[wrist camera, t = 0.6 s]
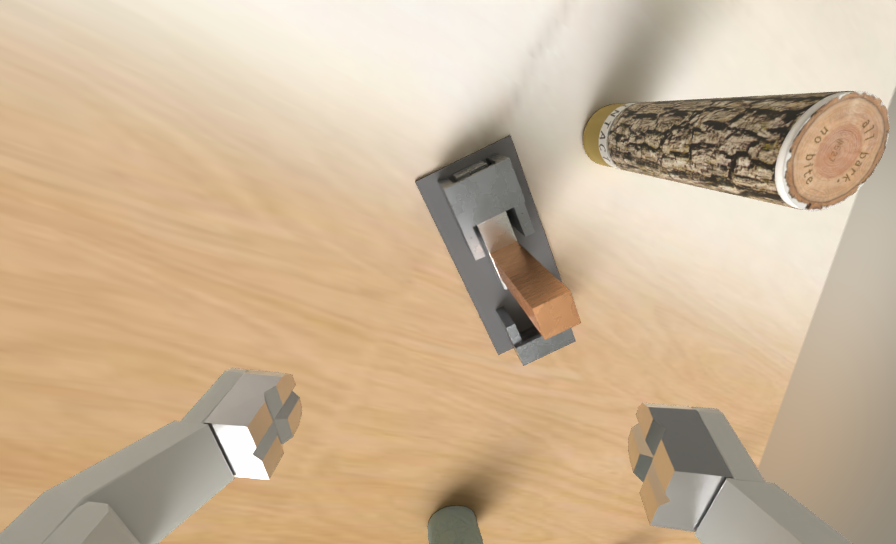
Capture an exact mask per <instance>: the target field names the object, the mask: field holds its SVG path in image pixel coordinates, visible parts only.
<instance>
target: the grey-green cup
mask: <svg viewBox="0 0 896 544" xmlns="http://www.w3.org/2000/svg"><path fill="white" fill-rule="evenodd" d="M428 540H429V544H483V539H482V536H481V533H480V530H479V527H478V524H477V520H476V517H475V515H474V513H473V511H472V510H471V509H469V508H467V507H465V506H449V507H445V508H442V509H440V510H439V511H437V512H436V513H435V514H433V516H432V517H431V518H430V520H429V523H428Z"/></svg>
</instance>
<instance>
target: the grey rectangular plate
mask: <svg viewBox="0 0 896 544" xmlns="http://www.w3.org/2000/svg"><path fill="white" fill-rule="evenodd" d="M494 153H497V154H500V155H503V156H506V157H509V158H510V160H511V163H512V166H513V169H514V171H515V174H516V177H517V180H518V182H519V185H520V188H521V191H522V193H523V196H524V199H525V202H524V203H525V206H526V209H527V211H528V214H529V217H530V220H531V222H532V225H533V228H534V231H535V233H533V234H531V235H529V236H526V237H525V236H524V235H523V234H521V233H520V232H519V231H518V230H517V229H515V228H514V227H513V226H512V224H511V221H510V219H509V216H508V214H507V216H508V219H509V221H510V224H511V226H512V229H513V231H514V234H515V237H516V239H517V242H518V243H519V244H521V245H522V246H523V247H524V248H525V249H526V250H527V251H528V252H529V253H530V254H531V255H532V256H533V257H534V258H535V259H537V260H538V261H539V262H540V263H541V264H542V265H543V266H544V267H545V268H546V269H547V270H548V271H549V272H550V273H552V274H553V275H554V276H555V277H556V278H557V279H558V280H559V281H560V282H561V283H562V281H561V278H560V275H559V273H558V270H557V267H556V264H555V261H554V258H553V255H552V253H551V250H550V247H549V244H548V241H547V238H546V235H545V233H544V230H543V227H542V224H541V221H540V218H539V216H538V213H537V210H536V207H535V204H534V201H533V198H532V196H531V193H530V190H529V187H528V184H527V181H526V178H525V176H524V173H523V170H522V167H521V164H520V161H519V159H518V156H517V153H516V150H515V147H514V144H513V141H512V139H511V136H507V137H505V138H503V139H501V140H499V141H497V142H495V143H493V144H491V145H489V146H487V147H485V148H483V149H481V150H479V151H477V152H475V153H473V154H471V155H469V156H467V157H464V158H462V159H460V160H458V161H456V162H454V163H452V164H450V165H448V166H446V167H444V168H442V169H440V170H438V171H436V172H434V173H432V174H430V175H428V176H426V177H424V178H421V179H419V180H417V181H415V182H416V184H417V186H418V189H419V191H420V193H421V195H422V197H423V199H424V201H425V203H426V205H427V207H428V209H429V211H430V214H431V216H432V218H433V220H434V222H435V224H436V226H437V228H438V230H439V232H440V234H441V236H442V239H443V241H444V243H445V245H446V247H447V249H448V251H449V253H450V255H451V257H452V259H453V261H454V263H455V266H456V268H457V270H458V272H459V274H460V276H461V278H462V280H463V282H464V284H465V286H466V288H467V291H468V293H469V295H470V297H471V299H472V301H473V303H474V305H475V307H476V309H477V311H478V313H479V316H480V318H481V320H482V322H483V324H484V326H485V328H486V330H487V332H488V334H489V336H490V338H491V341H492V343H493V345H494V347H495V349H496V351H497V353H498V355H500V354H502V353H504V352H506V351H508V350H510V349H512V348H513V346H512V345H511V343H510V340H509V338H508V336H507V334H506V332H505V329H504V327H503V325H502V323H501V321H500V318H499V316H498V314H497V312H496V310H497V309H499V308H501V307H503V306H504V307H505V309H506V311H507V312H508V314H509V315H510V317H511V318H512V320H513V322H514V323H515V325H516V328H517V330H518V332H521V331H523V330H525V329H528V328H530V327H532V326H534V324H533V323H532V321H531V320H530V319H529V317H528V316H527V314H526V313H525V312H524V310H523V309H522V307H521V306H520V305H519V303H518V302H517V301H516V299H515V298H514V296H513V295H512V294H511V292H510V291H509V289H504V288H503V286H502V285H501V284H500V282H499V281H498V278H497V276H496V274H495V271H494V269H493V267H492V264H491V262H490V260H489V258H488V255H487V253H486V251H485V248H484V246H483V244H482V241H481V239H480V237H479V234H478V232H477V230H476V228H475V226H474V227H473V229H474V231H475V234H476V236H477V238H478V240H479V243H480V245H481V247H482V250H483V252H484V254H485V257H483V258H481V259H479V260H475V259H474V257H473V256H472V254H471V253H470V251H469V249H468V248H467V246H466V244H465V241H464V239H463V237H462V235H461V233H460V230H459V228H458V226H457V224H456V222H455V219H454V217H453V215H452V213H451V211H450V208H449V206H448V204H447V202H446V200H445V197H444V195H443V193H442V191H441V189H440V186H439V184H438V182H437V181H439V180H441V179H443V178H445V177H447V178H448V179H449V180H451V181H452V182H453V183H456V181H455V179H454V177H453V174H454V173H456V172H459V171H461V170H463V169H465V168H467V167H469V166H471V165H473V164H475V163H477V162H479V161H483V162H485V163H487V164H488V162H487V159H486V157H488V156H490V155H492V154H494ZM488 166H489V164H488ZM506 213H507V211H506Z"/></svg>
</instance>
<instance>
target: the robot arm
mask: <svg viewBox="0 0 896 544" xmlns="http://www.w3.org/2000/svg"><path fill="white" fill-rule="evenodd" d="M295 385H296V384H295V381H294V378H293V375H291V374H287V373H279V372H270V371H261V370H252V369H250V370H249V369H240V368H230V369H228V370H226V371H225V372H224V373H223V374H222V375H221V376H220V377H219V378H218V380H217V381H216V382H215V383H214V384H213V385H212V386H211V387H210V389H209V390H208V391H207V392H206V393H205V394H204V395H203V396H202V398H201V399H200V400H199V401H198V402H197V403H196V404H195V405H194V407H193V408H192V409H191V410H190V411H189V412H188V413H187V414H186V416H185V417H184V418H183V419H182V420H181V421H173V422H171V423H169V424H167V425H166V426H164V427H162V428H160V429H158V430H157V431H155V432H153V433H151V434H149V435H147V436H146V437H144V438H142V439H140V440H138V441H136V442H135V443H133V444H131V445H129V446H127V447H126V448H124V449H122V450H120V451H118V452H116V453H115V454H113V455H111V456H109V457H107V458H105V459H104V460H102V461H100V462H98V463H96V464H95V465H93V466H91V467H89V468H87V469H85V470H84V471H82V472H80V473H78V474H76V475H74V476H73V477H71V478H69V479H67V480H65V481H64V482H62V483H60V484H58V485H56V486H54V487H53V488H51V489H49V490H47V491H45V492H44V493H42V494H41V495H40V496H39V497H38V498H37V499H36V500H35V501H34V502H33V503H32V504H31V505H30V506H29V507H28V508H27V509H25V510H24V511H23V512H22V513H21V514H20V515H19V516H18V517H17V518H16V519H15V520H14V521H13V522H12V523H11V524H10V525H9V526H8V527H6V528H5V529H4V530H3V531H2V532H1V533H0V544H158V543H159V542H160V541H161V540H162V539H164V538H165V537H166V536H167V535H168V534H169V533H171V532H172V531H173V530H174V529H175V528H177V527H178V526H179V525H180V524H181V523H183V522H184V521H185V520H186V519H187V518H188V517H190V516H191V515H192V514H193V513H194V512H196V511H197V510H198V509H199V508H200V507H202V506H203V505H204V504H205V503H206V502H207V501H209V500H210V499H211V498H212V497H213V496H215V495H216V494H217V493H218V492H219V491H221V490H222V489H223V488H224V487H225V486H227V485H228V484H229V483H230V482H231V481H232V480H234V476H235V477H246V478H257V479H268V480H269V479H270V477H271V476H272V474H273V472H274V470H275V468H276V467H277V465H278V463H279V461H280V459H281V458H282V456H283V454H284V451H283V443H285V442H286V441H288V440H289V439H290V438H292V437H293V436H294V434H295V432H296V430H297V428H298V426H299V423H300V419H301V415H302V404H301V400H300V397H299V396H297V395H296V394H295V393H294V392H293V391H292V390H293V389H294V387H295ZM636 416H637V419H638V422H639V423H638V424H637V425H635V426H634V427H632V428H631V431H630V435H629V438H628V452H629V458H630V463H631V466H632V470H633V473H634V474H635V475H636V476H637V477H638V478H639V479H640V480H641V481H642V482H643V485H642V488H641V490H640V496H641V499H642V502H643V505H644V508H645V511H646V514H647V518H648V521H649V524H650V525H651V526H658V527H664V528H671V529H678V530H685V531H691V532H695V536H696V537H697V538H698V539H699V540H700V542H701V543H702V544H853V543H851V542H850V541H849V540H848V539H846V538H845V537H843V536H842V535H841V534H840V533H839V532H837V531H836V530H835V529H833V528H832V527H831V526H829V525H828V524H827V523H826V522H824V521H823V520H822V519H820V518H819V517H818V516H816V515H815V514H814V513H812V512H811V511H810V510H809V509H807V508H806V507H805V506H804V505H802V504H801V503H799V502H798V501H797V500H796V499H794V498H793V497H792V496H791V495H789V494H788V493H787V492H785V491H784V490H783V489H781V488H780V487H779V486H778V485H776V484H775V483H770V482H766V481H765V480H764V478H763V477H762V475H761V473H760V472H759V470H758V469H757V467H756V465H755V464H754V462H753V461H752V459H751V457H750V456H749V454H748V452H747V451H746V449H745V448H744V446H743V444H742V443H741V441H740V440H739V438H738V436H737V435H736V433H735V432H734V430H733V428H732V427H731V425H730V424H729V422H728V420H727V419H726V417H725V416H724V414H723V413H722V412H721V411H720V410H718V409H714V408H701V407H689V406H677V405H664V404H650V403H642V404H641V405H640V406H639V407H638V410H637V413H636Z"/></svg>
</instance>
